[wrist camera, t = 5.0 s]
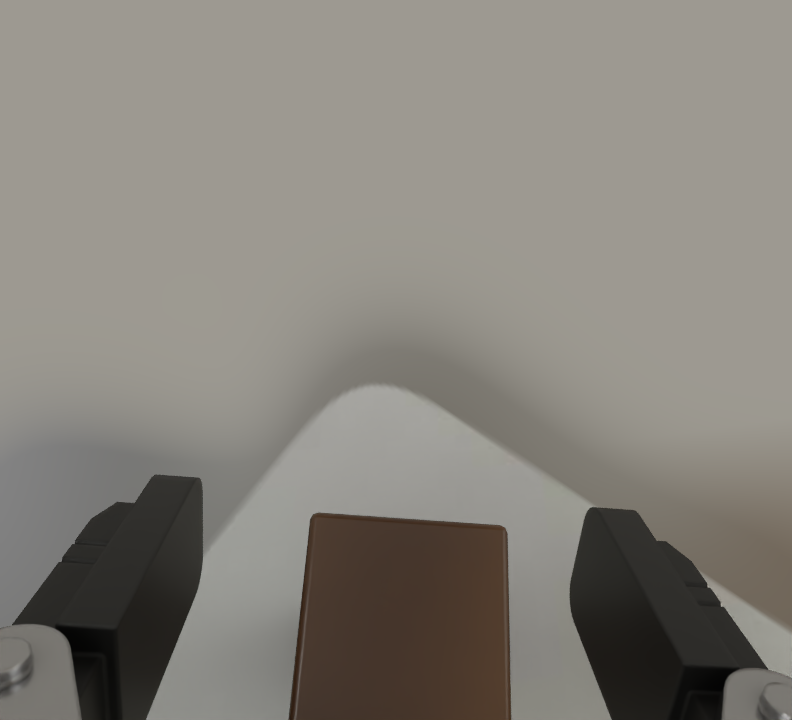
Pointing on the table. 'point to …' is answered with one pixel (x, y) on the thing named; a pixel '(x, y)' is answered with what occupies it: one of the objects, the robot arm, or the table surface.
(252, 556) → the table surface
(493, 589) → the stick
